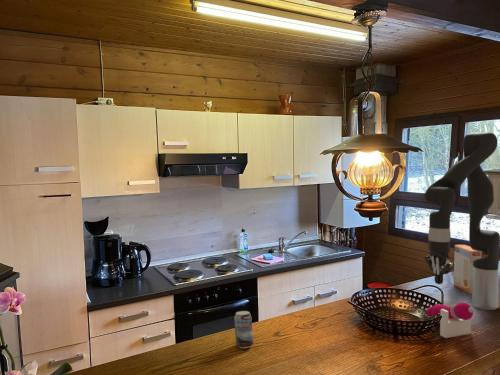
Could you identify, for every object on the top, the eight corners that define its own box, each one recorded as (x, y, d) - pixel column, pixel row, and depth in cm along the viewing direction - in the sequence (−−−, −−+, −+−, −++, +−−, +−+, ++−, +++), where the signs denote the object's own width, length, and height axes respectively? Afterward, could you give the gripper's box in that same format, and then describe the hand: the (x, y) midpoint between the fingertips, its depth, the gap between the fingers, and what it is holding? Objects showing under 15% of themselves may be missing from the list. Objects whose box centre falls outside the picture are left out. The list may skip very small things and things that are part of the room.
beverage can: (240, 352, 129) (239, 318, 128) (231, 343, 135) (230, 310, 135) (256, 348, 132) (256, 314, 131) (247, 339, 138) (246, 307, 138)
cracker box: (481, 294, 178) (482, 250, 176) (468, 294, 178) (469, 251, 176) (465, 284, 192) (466, 244, 190) (453, 285, 192) (453, 244, 190)
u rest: (465, 330, 142) (465, 305, 141) (470, 333, 139) (471, 307, 139) (440, 335, 139) (440, 309, 138) (445, 338, 136) (445, 311, 136)
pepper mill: (422, 317, 148) (461, 312, 130) (428, 301, 151) (467, 294, 134) (437, 328, 148) (478, 325, 130) (443, 312, 151) (484, 307, 134)
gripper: (461, 241, 139) (460, 287, 141) (434, 235, 152) (434, 277, 153) (444, 243, 137) (443, 290, 139) (418, 236, 150) (418, 279, 151)
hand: (438, 283), depth 146 cm, fingers closed
